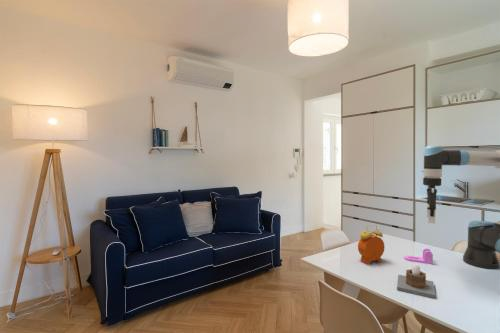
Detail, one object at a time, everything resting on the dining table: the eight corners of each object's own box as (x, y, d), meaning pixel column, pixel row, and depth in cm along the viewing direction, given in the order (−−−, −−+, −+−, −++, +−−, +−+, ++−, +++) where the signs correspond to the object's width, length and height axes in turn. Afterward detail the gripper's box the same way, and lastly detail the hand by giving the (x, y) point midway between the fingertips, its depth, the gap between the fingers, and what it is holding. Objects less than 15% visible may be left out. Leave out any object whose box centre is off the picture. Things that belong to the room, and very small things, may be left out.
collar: (424, 282, 124) (425, 271, 124) (425, 289, 118) (426, 278, 117) (406, 278, 128) (406, 268, 127) (405, 285, 121) (406, 274, 121)
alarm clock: (376, 257, 157) (377, 223, 156) (384, 261, 151) (385, 225, 150) (357, 260, 153) (357, 225, 152) (364, 264, 147) (365, 228, 146)
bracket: (430, 261, 153) (430, 248, 152) (432, 264, 148) (432, 252, 147) (403, 257, 158) (404, 245, 158) (404, 260, 153) (405, 248, 153)
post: (433, 284, 125) (433, 264, 125) (435, 298, 113) (436, 276, 113) (398, 277, 132) (398, 258, 132) (397, 290, 120) (397, 268, 120)
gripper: (422, 175, 148) (420, 214, 149) (424, 179, 126) (422, 224, 127) (439, 175, 144) (437, 215, 145) (444, 179, 123) (442, 226, 124)
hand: (430, 220), depth 136 cm, fingers open, 13 cm apart
